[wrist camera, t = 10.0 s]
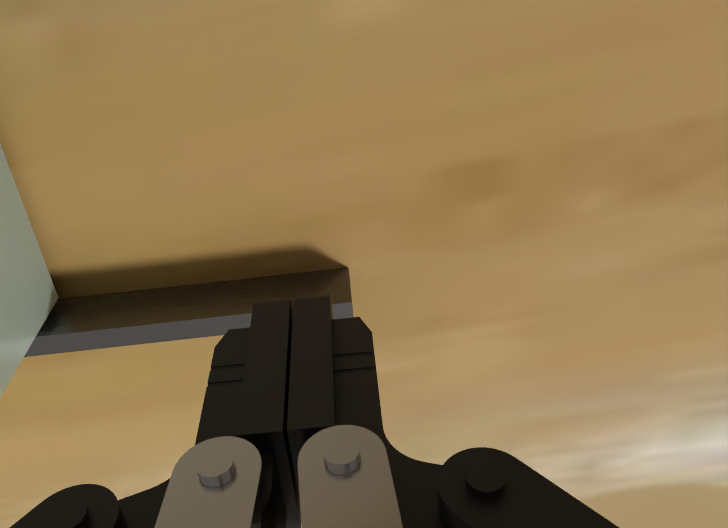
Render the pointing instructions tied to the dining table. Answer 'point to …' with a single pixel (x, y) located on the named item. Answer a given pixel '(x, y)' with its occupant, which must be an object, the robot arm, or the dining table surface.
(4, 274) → the crate
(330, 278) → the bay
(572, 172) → the dining table surface
